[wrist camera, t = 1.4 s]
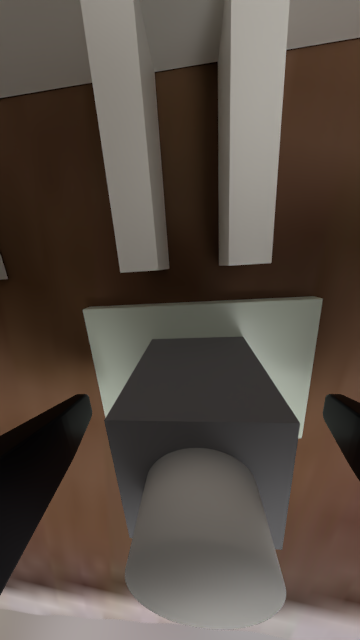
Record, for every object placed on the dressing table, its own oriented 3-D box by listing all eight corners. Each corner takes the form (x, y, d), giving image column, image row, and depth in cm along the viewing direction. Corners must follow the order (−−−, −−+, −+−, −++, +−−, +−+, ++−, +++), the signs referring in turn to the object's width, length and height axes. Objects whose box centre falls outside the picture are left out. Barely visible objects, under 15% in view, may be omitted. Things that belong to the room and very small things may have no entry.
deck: (313, 296, 8) (322, 298, 7) (295, 428, 10) (301, 438, 9) (89, 306, 9) (82, 309, 8) (113, 424, 11) (109, 433, 10)
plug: (243, 336, 8) (360, 515, 2) (240, 412, 9) (316, 662, 3) (152, 339, 8) (58, 498, 3) (160, 411, 10) (106, 634, 4)
